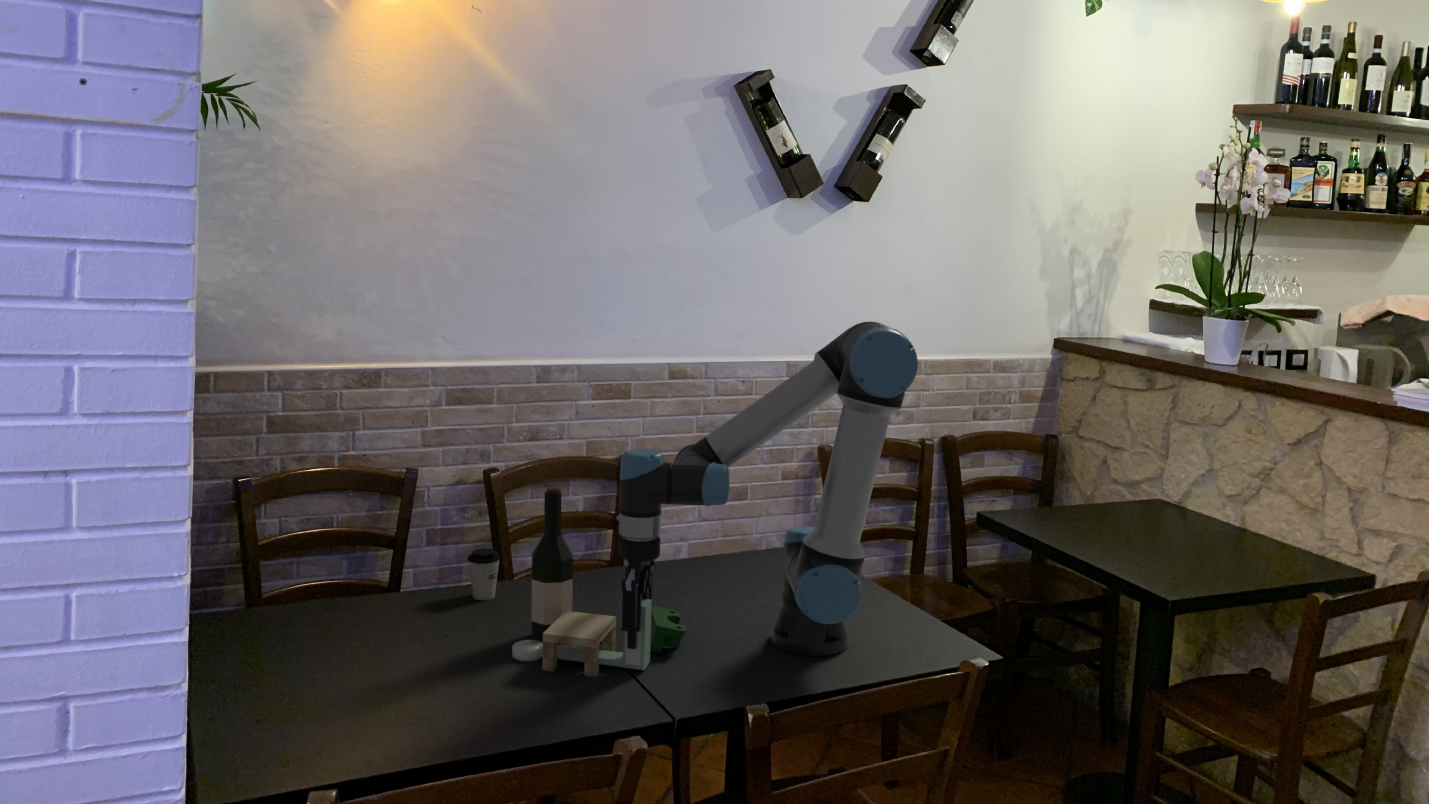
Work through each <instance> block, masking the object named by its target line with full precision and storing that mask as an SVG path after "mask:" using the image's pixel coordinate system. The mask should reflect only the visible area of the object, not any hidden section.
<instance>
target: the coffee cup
mask: <svg viewBox="0 0 1429 804" xmlns="http://www.w3.org/2000/svg"><path fill="white" fill-rule="evenodd" d="M500 556H501V555H500V554H499V553H498V552H497V550H495V549H492V548H485V547H484V548H477V549H474V550H473V551H472V552H471V553H470V554H468V556H467V558H466V559H467V561H468V568H469V576H470V583H471V590H472V598H473V599H475V600H476V601H487V600H489V601H490V600H492V599H494V598H495V597H496V596H495V595H496V590H497V589H496V588H497V581H498V573H499V565H500V560H501V557H500Z"/></svg>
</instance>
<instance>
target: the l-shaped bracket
mask: <svg viewBox="0 0 1429 804" xmlns="http://www.w3.org/2000/svg"><path fill="white" fill-rule="evenodd" d="M652 606H653V601H652V600H651V599H642V606H641V618H640V630H641V664H640V665H631V664H625V647H626V631H623V639H622V640H623V641H622V642H623V643H622V644H623V645H622V646H623V647H622V652H621V651H615V652H614V651H606V650H602V649H599V665H604V666H611V667H619V668H623V669H624V668H625V669H631V670H632V669H633V670H639V671H641V670H642V671H645V669H646V668H647V666H649V663H650V662H651V651H650V641H651V607H652ZM540 657H543V648H542V649H541V650H540ZM557 660H565V661H572V662H573V661H574V662H579V663H580V662H581V663H585V647H583V646H575V647H574V646H566V645H558V644H557Z"/></svg>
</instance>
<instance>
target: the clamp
mask: <svg viewBox="0 0 1429 804" xmlns="http://www.w3.org/2000/svg"><path fill="white" fill-rule="evenodd" d="M651 615H654V616H653V620H651V641H650V653H651V652H652V653H657V654H660V653H661V652H662V649H663V647H668V648H672V649H679V647H680V644H681V641H682V638H685V636H686V632H687V629H686V626H685V625H684V624H680V620H681V614H680V613H679V612H678V611H676V610H674V609H669V608H665V607H658V606H653V605H652V612H651Z"/></svg>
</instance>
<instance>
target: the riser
mask: <svg viewBox="0 0 1429 804" xmlns="http://www.w3.org/2000/svg"><path fill="white" fill-rule="evenodd" d="M616 635H617V616H614V615H606V614H597V613H590V612H589V613H588V612H579V611H573V610H572V611H565V612H564V613H563V614H562V615H561V616H560V617H559V618H558V619H557V620H556V621H555V622H554V623H553V624H552V625H551V626H550V627H549V628H548V629H547V630H546V631H545V632H544V633H543V658H542V671H547V672H555V670H556V669H557V668H558V659H557V643H560V644H562V645H566V646H574V647H584V648H585V662H584V676H586V677H593V678H595V677H596V676H597V675H598V674H599V673H600V672H599V671H600V670H599V668H600V664H599V650H600V643H601V650H606V651H614V652H616V646H617V645H616V638H617V636H616Z"/></svg>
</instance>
